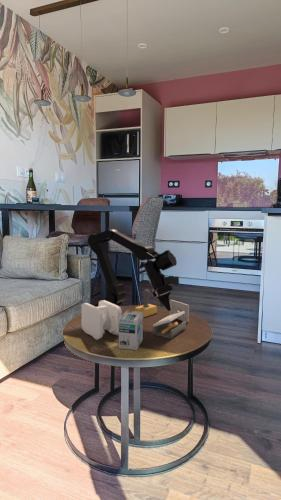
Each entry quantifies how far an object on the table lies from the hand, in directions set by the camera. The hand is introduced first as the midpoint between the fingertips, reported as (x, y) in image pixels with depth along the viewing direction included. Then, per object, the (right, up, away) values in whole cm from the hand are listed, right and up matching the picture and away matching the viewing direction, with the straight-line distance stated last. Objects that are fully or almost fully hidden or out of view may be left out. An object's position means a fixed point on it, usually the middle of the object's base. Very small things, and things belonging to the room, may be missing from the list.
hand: (169, 310), depth 132 cm
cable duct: (0, -8, +1) cm, 8 cm away
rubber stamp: (-9, -6, +23) cm, 26 cm away
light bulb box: (-15, -10, -13) cm, 22 cm away
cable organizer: (-27, -8, -3) cm, 28 cm away
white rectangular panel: (0, -4, 0) cm, 4 cm away
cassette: (+6, -7, +18) cm, 20 cm away
